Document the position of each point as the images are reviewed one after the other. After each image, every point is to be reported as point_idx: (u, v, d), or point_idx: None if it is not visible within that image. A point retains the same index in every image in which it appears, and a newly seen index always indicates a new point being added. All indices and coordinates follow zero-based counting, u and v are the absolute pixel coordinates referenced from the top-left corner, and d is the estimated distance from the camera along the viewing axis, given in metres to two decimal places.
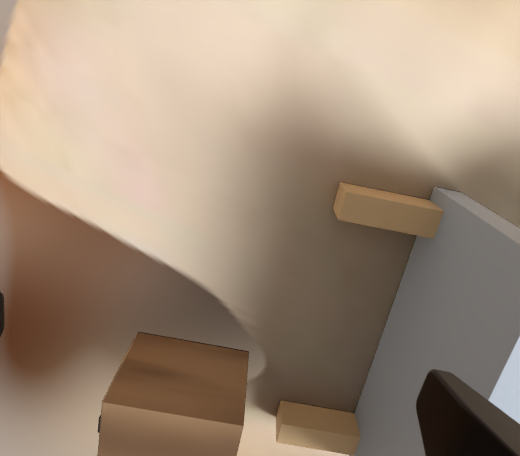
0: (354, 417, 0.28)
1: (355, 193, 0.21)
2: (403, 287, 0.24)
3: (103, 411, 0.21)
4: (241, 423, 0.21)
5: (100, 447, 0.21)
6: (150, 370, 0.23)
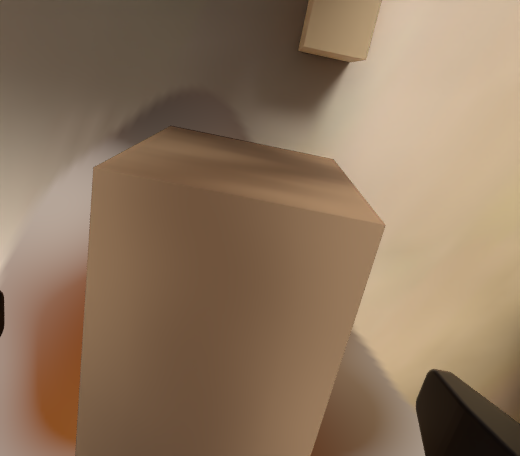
0: None
1: None
2: None
3: None
4: None
5: None
6: None
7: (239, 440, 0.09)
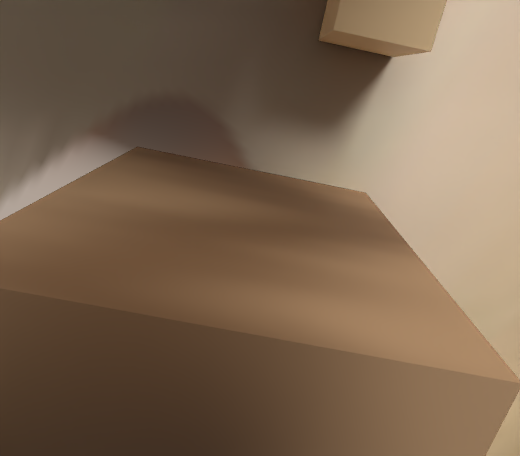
0: None
1: None
2: None
3: None
4: None
5: None
6: None
7: None
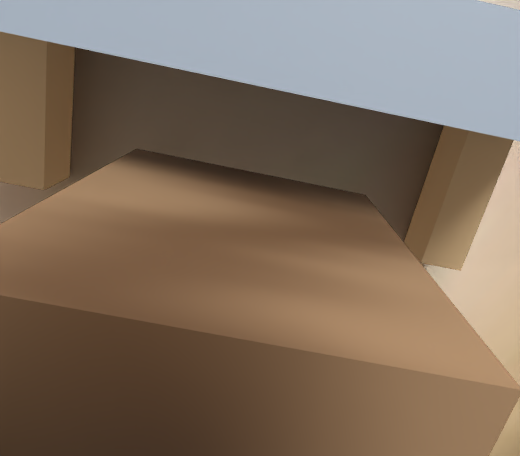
0: None
1: (1, 167, 0.14)
2: None
3: None
4: None
5: None
6: None
7: None
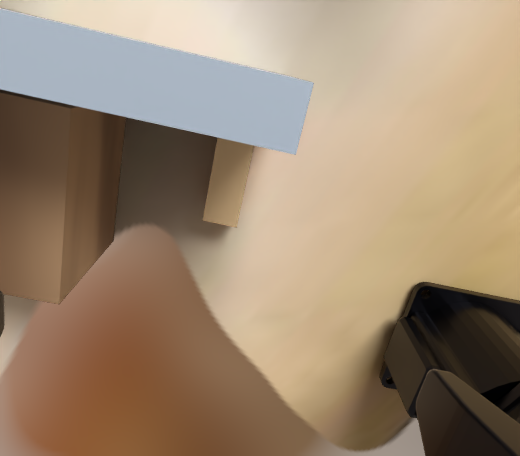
0: None
1: None
2: None
3: None
4: None
5: (1, 291, 0.15)
6: None
7: (15, 253, 0.14)
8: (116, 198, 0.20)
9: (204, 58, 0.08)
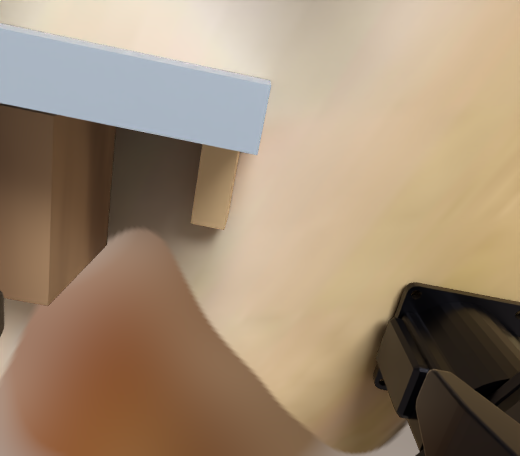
0: None
1: None
2: None
3: None
4: None
5: None
6: None
7: (5, 257, 0.15)
8: (108, 203, 0.20)
9: (165, 64, 0.09)
